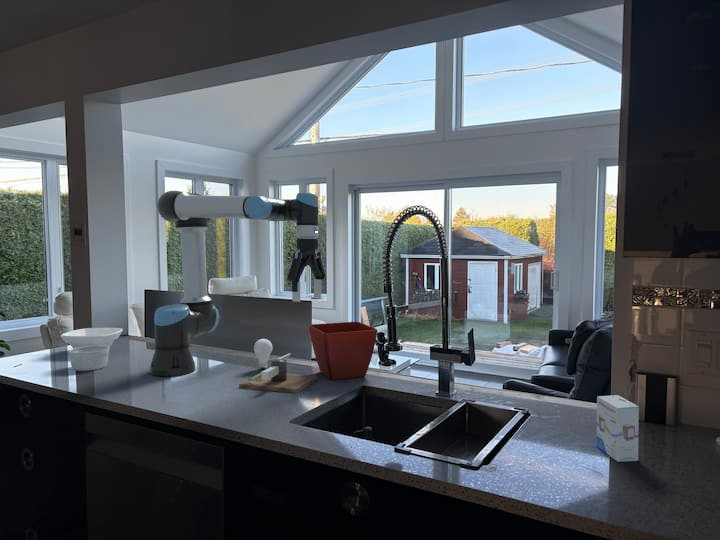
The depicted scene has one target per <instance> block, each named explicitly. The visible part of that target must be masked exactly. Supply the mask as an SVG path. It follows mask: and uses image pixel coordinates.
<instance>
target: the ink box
mask: <svg viewBox="0 0 720 540" xmlns="http://www.w3.org/2000/svg"><path fill="white" fill-rule="evenodd" d="M639 408H640V407H639V405H637V404H635V403H633V402H631V401H629V400H628V399H626V398H624V397H622V396H621V395H618V394H615V395H597V397H596V447H597V448H598V449H600V450H601V451H602V452H604V453H605V454H607V456H609V457H611V458H612V460H613V459H614V460H615V461H616V462H621V463H622V462H637V461H639V428H640V427H639V417H640V415H639V414H640V413H639V412H640V409H639Z"/></svg>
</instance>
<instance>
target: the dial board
mask: <svg viewBox="0 0 720 540" xmlns="http://www.w3.org/2000/svg"><path fill="white" fill-rule="evenodd" d="M317 377H318V376H317V375H309V374H308V375H307V374H294V373H287V379H286V380H283V381H273V380H271V378H270V379H268V380H262V371H261V372H260V373H258V374H256V375H254V376H252V377H250V378H248V379H246V380H244V381H242V382H240V383H239V384H238V388H243V389H250V390H251V389H252V390H253V389H254V390H262V391H263V390H265V391H272V392H284V393H295V394H298V393H299V392H301V391H302V390H303V389H305V388H307V387H308V386H310V385H311V384H312V383H314V382H315V381H317V379H318V378H317Z"/></svg>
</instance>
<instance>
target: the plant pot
mask: <svg viewBox="0 0 720 540" xmlns="http://www.w3.org/2000/svg"><path fill="white" fill-rule="evenodd" d="M308 328H309V335H310V340H311V346H312V349H313V352H314V355H315V360H316V363H317V366H318V368H319V371H320V372H321V374H323V375H324V376H325V377H326V378H328V379H329V380H331V381H335V380H337V381H338V380H345V379H352V378H353V379H354V378H362V377H366V376H367V373H368V370H369V367H370V364H371V361H372V358H373V353H374V349H375V345H376V342H377V341H376V340H377V334H378V329H377V328H374V327H372V326H369V325H367V324H365V323H363V322H361V321H345V322H343V321H342V322H341V321H340V322H328V323H314V324H309V325H308Z"/></svg>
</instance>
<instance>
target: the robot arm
mask: <svg viewBox="0 0 720 540" xmlns="http://www.w3.org/2000/svg"><path fill="white" fill-rule="evenodd" d="M295 197H296V198H294V199H290V198H289V199H288V198H287V199H283V198H276V197H275V198H274V197H269V196H268V197H267V196H264V195H257V194H256V195H251V196H249V195H203V194H201V193H200V194H199V193H196V192H189V191H187V192H186V191H180V190H168V191H166V192H164V193H163V194H161V195H160V197H159V198H158V200H157V204H156V209H157V211H158V215H160V217H161V218H162V219H163V220H165V221H167V222H168V223H172V224H175V230H176V231H177V232H178V233H179V235H180V250H181V251H180V252H181V266H182V267H181V269H182V287H183V297H182V299H181V300H180V301H179V303H173V304H167V305H163V306H161V307H158V308H156V309H155V311H154V319H153V325H154V327H153V328H154V354H153V357H152V360H151V364H150V367H149V374H150V375H151V376H156V377H177V376H183V375H188V374H191V373H194V372H195V371H196V362H195V359H194V357H193V354H192V352H191V348H190V346H191V345H190V343H191V341H190V339H191V338H195V337H199V336H206V335H207V334H210V333H211V332H213V331H214V330H215V329H216V328H217V326H218V324H219V321H220V314H219V313H220V312H219V309H218V308H216V306H215V305H214V304H213V299H212V298H211V297H210V296H209V295H208V279H207V265H206V264H207V261H206V245H205V244H206V243H205V242H206V241H205V232H206V231H207V230H208V229H209V225H208V223H209V222H210V221H211V219H238V220H239V219H240V220H241V219H243V220H262V221H263V220H264V221H265V220H266V221H269V222H276V223H277V222H292V221H293V222H296V232H295V234H296V243H295V245H296V250H298V252H297V251H295V252H293V255H292V256H293V257H292V262H291V264H290V269H289V273H288V277H287V280H288V281H289V283H291V291H292V295H291V296H292V297H291V299H292V300H291V301H292V302H299V303H301V281H300V280H301V277H302V275H303V272H304V271H305V268H306V267H307V266H309V269H310V270H311V272H312V274H313V276H314V278H315V279H313V298H314V299H315V298H316V299H318V298H319V299H321V298H322V285H323V284H322V283H323V281H322V280H325V279H326V278H325V277H326V272H325V269H324V264H323V260H322V255H321V253H322V252H321V251H316V250H318V249H319V239H318V238H319V208H320V206H319V196H318V194H317V193H315V192H297V194H296V196H295Z"/></svg>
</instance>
